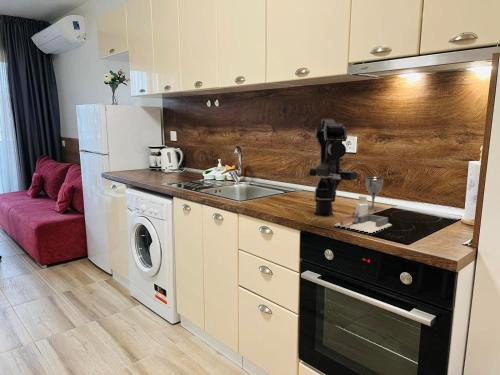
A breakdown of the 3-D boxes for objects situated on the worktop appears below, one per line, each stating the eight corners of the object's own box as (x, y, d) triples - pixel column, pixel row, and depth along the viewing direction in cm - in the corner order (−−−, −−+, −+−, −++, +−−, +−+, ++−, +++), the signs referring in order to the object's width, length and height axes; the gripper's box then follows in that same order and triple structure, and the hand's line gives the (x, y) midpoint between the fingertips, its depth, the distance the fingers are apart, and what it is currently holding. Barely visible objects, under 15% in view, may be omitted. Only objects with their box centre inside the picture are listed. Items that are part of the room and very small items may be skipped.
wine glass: (360, 207, 180) (362, 177, 178) (373, 206, 183) (375, 176, 181) (372, 211, 173) (374, 179, 170) (384, 209, 176) (387, 178, 174)
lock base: (334, 225, 148) (334, 218, 147) (355, 218, 159) (356, 211, 159) (371, 234, 136) (372, 226, 136) (391, 225, 148) (392, 218, 148)
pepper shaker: (363, 216, 163) (364, 195, 161) (367, 218, 159) (369, 197, 158) (355, 216, 162) (356, 195, 161) (359, 219, 159) (360, 197, 157)
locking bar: (354, 222, 151) (354, 211, 150) (359, 223, 149) (359, 212, 148) (338, 227, 143) (339, 216, 142) (344, 228, 141) (344, 217, 140)
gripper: (301, 155, 144) (300, 194, 146) (343, 158, 130) (341, 201, 133) (317, 154, 151) (316, 191, 154) (359, 157, 138) (356, 197, 141)
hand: (331, 195), depth 145 cm, fingers closed
